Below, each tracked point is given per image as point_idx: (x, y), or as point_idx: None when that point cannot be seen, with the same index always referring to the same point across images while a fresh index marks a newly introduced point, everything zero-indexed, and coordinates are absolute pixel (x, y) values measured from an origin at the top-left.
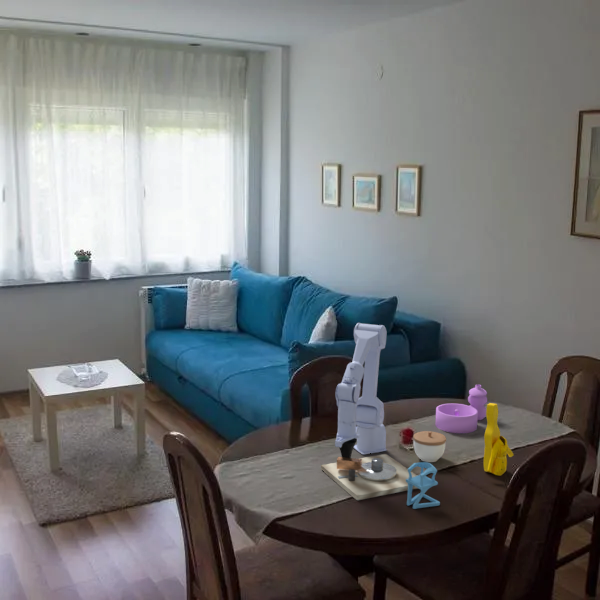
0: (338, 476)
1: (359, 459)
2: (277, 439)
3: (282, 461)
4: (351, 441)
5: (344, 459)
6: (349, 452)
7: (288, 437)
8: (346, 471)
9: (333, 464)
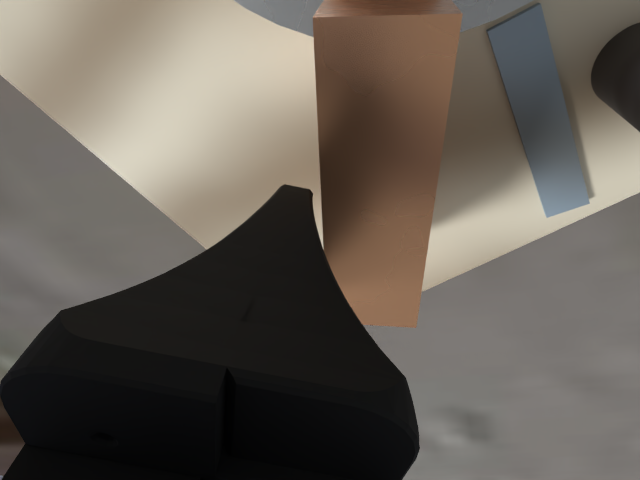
0: (548, 213)
1: (343, 60)
2: None
3: None
4: (220, 430)
5: (395, 262)
6: (331, 274)
7: (14, 446)
8: None
9: None
